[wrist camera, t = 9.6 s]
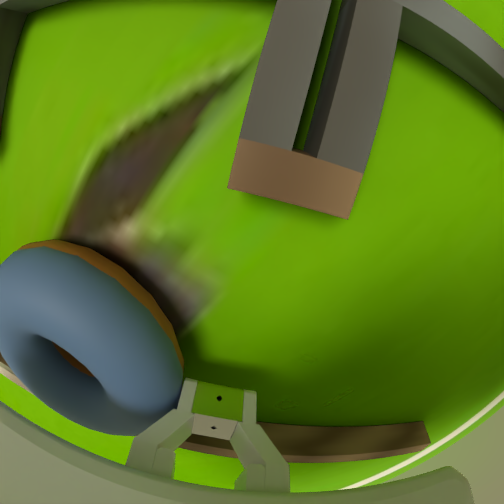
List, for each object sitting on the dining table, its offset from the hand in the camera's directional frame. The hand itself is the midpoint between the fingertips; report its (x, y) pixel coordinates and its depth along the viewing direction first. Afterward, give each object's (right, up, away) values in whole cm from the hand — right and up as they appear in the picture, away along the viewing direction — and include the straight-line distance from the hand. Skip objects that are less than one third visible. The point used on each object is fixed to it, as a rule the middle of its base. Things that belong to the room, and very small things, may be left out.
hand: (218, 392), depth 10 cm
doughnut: (-6, +2, +1) cm, 7 cm away
